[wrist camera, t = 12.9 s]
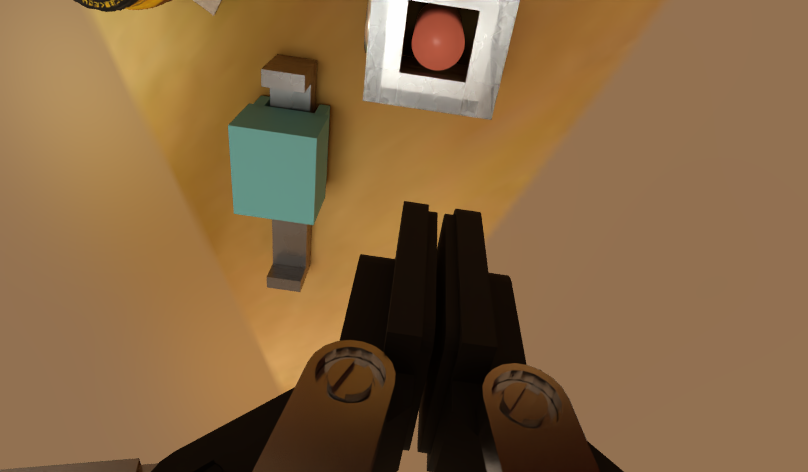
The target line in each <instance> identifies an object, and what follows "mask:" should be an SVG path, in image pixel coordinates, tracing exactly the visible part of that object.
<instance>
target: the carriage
mask: <svg viewBox="0 0 808 472" xmlns="http://www.w3.org/2000/svg"><path fill="white" fill-rule="evenodd" d="M329 119H330V106H328V105H321V104H320V105H319V107H318V108H317V110H316V112H315V113H309V112H303V111H296V110H289V109H283V108H276V107H270V97H268V96H260V97H259V98H258V99H257V101H256V102H255V103H254V104H248V105H247V106H246V107H245V108H244V109H243V110H242V111H241V112H240V113H239V114H238V116H237V117H236V118H235V119H234V120H233V121H232V122H231V123H230V124H229V125H228V132H229V146H230V161H231V176H232V191H233V206H234V214H240V215H247V216H254V217H261V218H268V219H275V220H282V221H288V222H295V223H302V224H309V225H314V223H315V221H316V218H317V216H318V213H319V211H320V208H321V206H322V203H323V201H324V198H325V188H326V178H327V158H328V139H329Z"/></svg>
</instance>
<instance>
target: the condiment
mask: <svg viewBox="0 0 808 472" xmlns="http://www.w3.org/2000/svg"><path fill="white" fill-rule="evenodd" d="M74 1H75V2H78V3H80V4H81V5H83V6H85V7H87V8H90V9H97V10H101V11H105V12H110V11H111V12H112V11H116V10H120V11H121V10H122V9H124V8H125V9H129V10H142V9H148V8H153V7H156V6H159V5H162V4H164V3H166V2H169V1H171V0H74ZM193 1H194V2H196V3H197V4H199V5H200V6H202V7H203V8H205V9H206V10H207V11H209V12H210V13H211V14H212V15H213V16H214V14H215V12H216V10H217V8H218V6H219V4H220V2H221V0H193Z"/></svg>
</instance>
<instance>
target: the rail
mask: <svg viewBox="0 0 808 472" xmlns="http://www.w3.org/2000/svg"><path fill="white" fill-rule="evenodd" d="M316 78H317V60H311V59H305V58H298V57H292V56H285V55H278V54H277V55H276V56H275V57H274V58H273V59H272V60H270V61H269V62H268V63H267V64H266V65H265V66H264V67H263V68H262V69H261V84H262V87H268V88H270V107H276V108H283V109H289V110H296V111H303V112H309V113H315V107H316ZM272 229H273V265H272V267H271V269H270V271H269V273H268V275H267V287H269V288H276V289H283V290H290V291H297V292H301V289H302V286H303V283H304V281H305V278H306V275H307V273H308V270H309V267H310V255H311V225H309V224H302V223H295V222H288V221H282V220H275V219H272Z"/></svg>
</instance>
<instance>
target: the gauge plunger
mask: <svg viewBox="0 0 808 472" xmlns="http://www.w3.org/2000/svg"><path fill="white" fill-rule="evenodd" d="M464 45H465V39H464V32H463V26H462V20H461V16H460V14H459V12H458V10H457V9H456V8H455V7H453V6H446V5H440V4H433V3H429V4H427V5H425V6H424V7H423V8H422V9H421V11H420V12H419V14H418V16H417V20H416V24H415V28H414V33H413V37H412V50H413V53H414V55H415V57H416V59H417V60H418V62H419V63H420V64H421V65H423V66H424V67H426V68H428V69H431V70H444V69H447V68H449V67H451V66H453V65H454V64H455V63H456V62H457V61H458V60H459V59H460V57H461V55H462V53H463V50H464Z"/></svg>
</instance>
